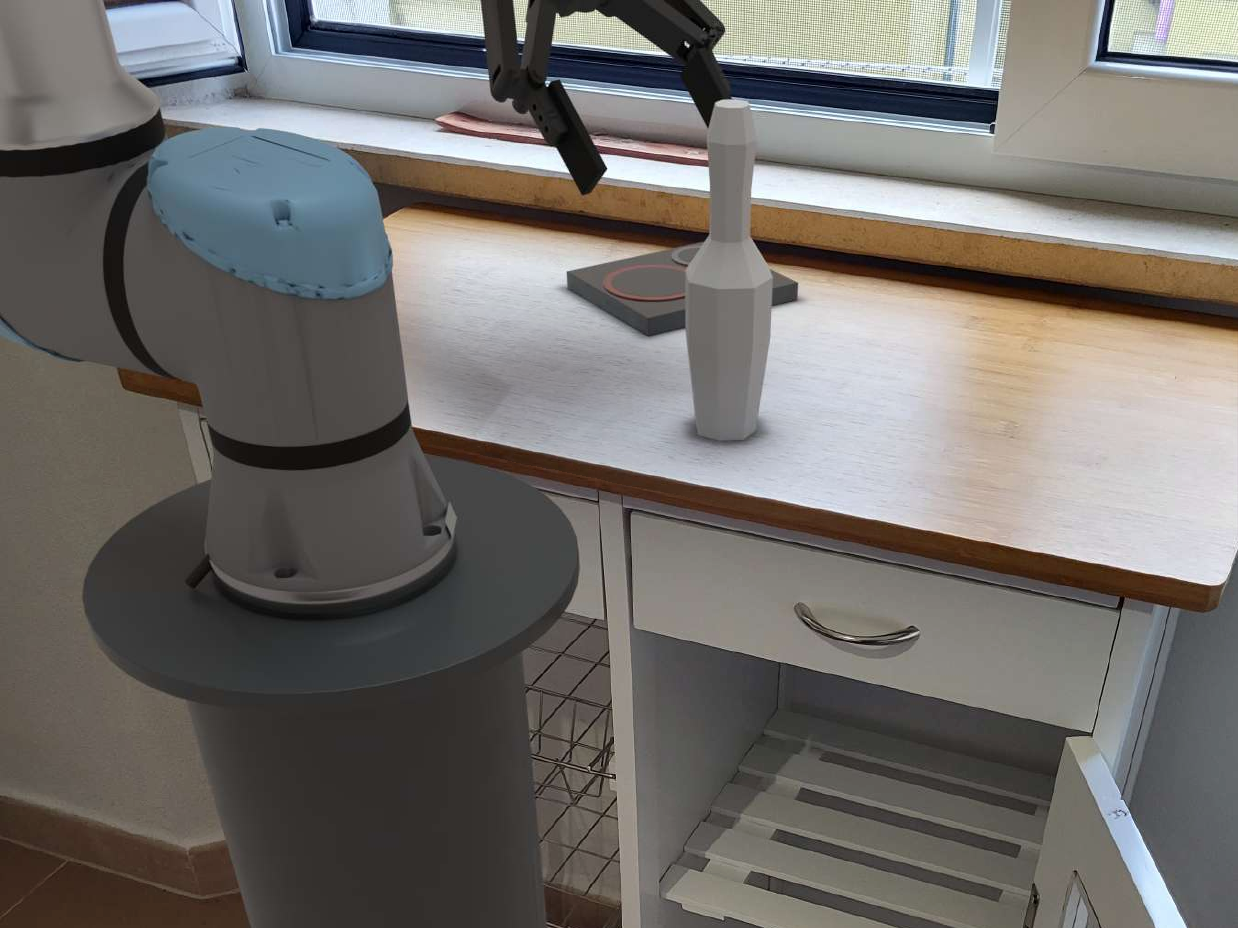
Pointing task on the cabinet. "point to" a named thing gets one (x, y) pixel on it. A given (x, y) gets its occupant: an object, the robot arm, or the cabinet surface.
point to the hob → (652, 288)
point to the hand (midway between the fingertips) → (668, 163)
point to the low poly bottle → (728, 288)
